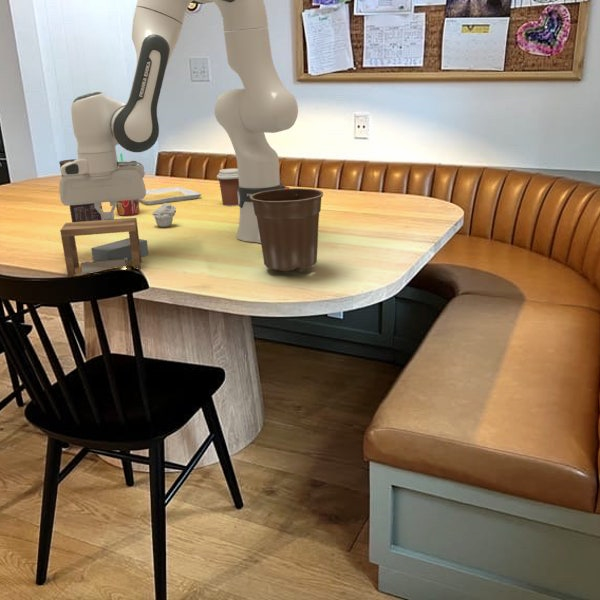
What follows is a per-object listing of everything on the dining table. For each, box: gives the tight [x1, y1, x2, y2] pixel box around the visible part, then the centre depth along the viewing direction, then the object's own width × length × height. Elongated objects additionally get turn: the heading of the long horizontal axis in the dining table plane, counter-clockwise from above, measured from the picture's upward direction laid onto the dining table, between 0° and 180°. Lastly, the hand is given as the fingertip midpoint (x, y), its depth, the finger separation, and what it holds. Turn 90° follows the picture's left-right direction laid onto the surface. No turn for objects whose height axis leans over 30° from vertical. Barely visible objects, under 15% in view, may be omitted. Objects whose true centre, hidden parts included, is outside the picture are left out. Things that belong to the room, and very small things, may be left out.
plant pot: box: [250, 187, 324, 272], centre depth 143 cm, size 16×16×16 cm
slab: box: [90, 237, 150, 262], centre depth 155 cm, size 12×6×4 cm, turn 144°
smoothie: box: [115, 153, 140, 217], centre depth 201 cm, size 8×8×20 cm
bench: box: [59, 217, 143, 277], centre depth 146 cm, size 8×16×10 cm, turn 101°
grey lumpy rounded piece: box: [151, 202, 177, 228], centre depth 186 cm, size 6×7×7 cm
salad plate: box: [139, 186, 202, 206], centre depth 229 cm, size 21×21×3 cm
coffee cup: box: [216, 168, 239, 207], centre depth 214 cm, size 9×9×12 cm
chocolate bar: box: [69, 203, 103, 222], centre depth 181 cm, size 9×1×18 cm, turn 131°
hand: (108, 219), depth 158 cm, fingers closed
